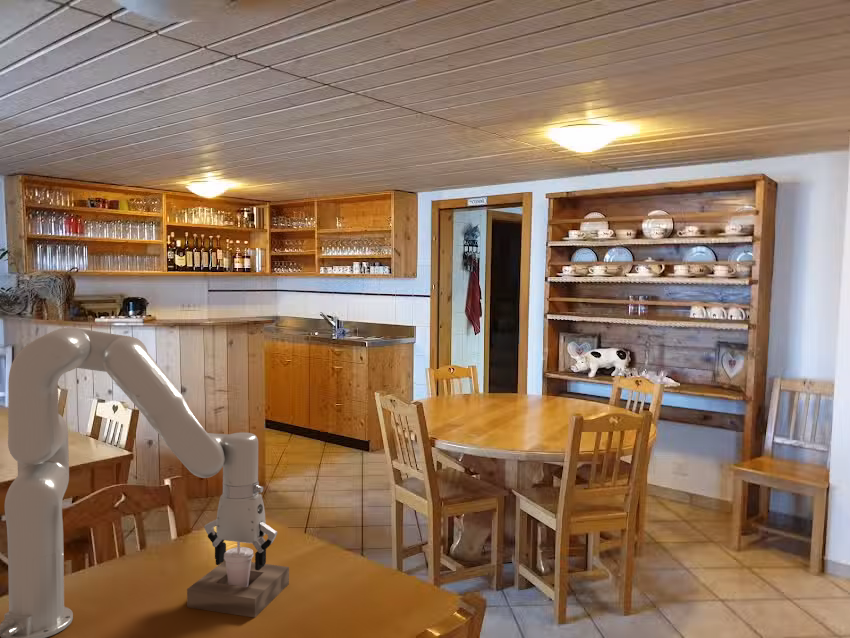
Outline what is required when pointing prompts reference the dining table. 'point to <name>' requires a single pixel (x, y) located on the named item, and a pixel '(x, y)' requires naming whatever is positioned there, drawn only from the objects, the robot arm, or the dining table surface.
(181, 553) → the dining table surface
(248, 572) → the smoothie
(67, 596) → the dining table surface
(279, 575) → the bottle stand
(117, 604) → the dining table surface
